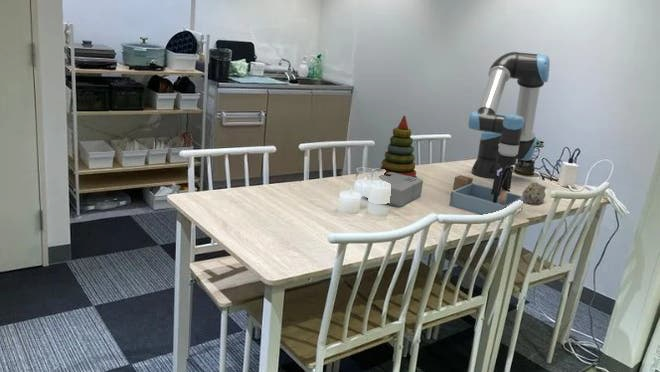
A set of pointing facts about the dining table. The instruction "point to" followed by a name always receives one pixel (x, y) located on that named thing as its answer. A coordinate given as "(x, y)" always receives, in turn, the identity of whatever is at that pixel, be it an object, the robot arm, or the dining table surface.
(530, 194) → the rock
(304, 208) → the dining table surface
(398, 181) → the projector
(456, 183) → the cube
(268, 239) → the dining table surface
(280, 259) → the dining table surface
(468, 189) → the tote
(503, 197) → the cylinder
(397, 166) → the toy
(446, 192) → the dining table surface
